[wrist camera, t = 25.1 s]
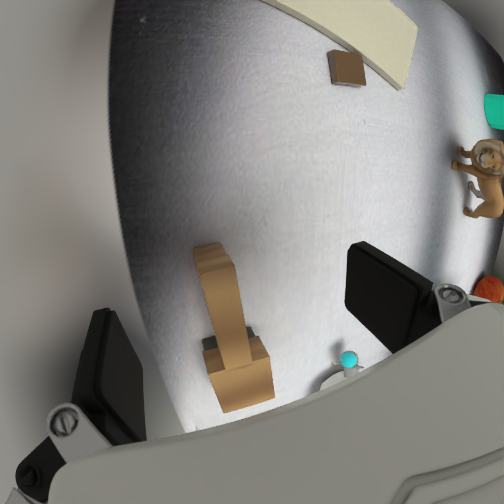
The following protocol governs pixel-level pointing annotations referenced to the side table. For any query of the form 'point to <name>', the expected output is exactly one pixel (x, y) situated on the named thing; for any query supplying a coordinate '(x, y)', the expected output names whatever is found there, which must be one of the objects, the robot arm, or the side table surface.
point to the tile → (362, 31)
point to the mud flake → (346, 68)
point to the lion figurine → (485, 176)
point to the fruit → (490, 289)
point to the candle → (494, 110)
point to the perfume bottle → (350, 369)
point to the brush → (231, 336)
